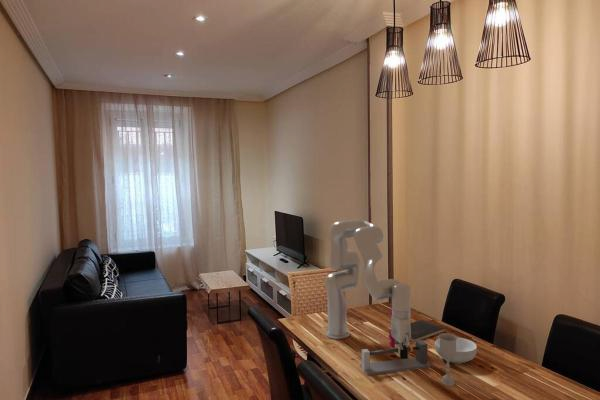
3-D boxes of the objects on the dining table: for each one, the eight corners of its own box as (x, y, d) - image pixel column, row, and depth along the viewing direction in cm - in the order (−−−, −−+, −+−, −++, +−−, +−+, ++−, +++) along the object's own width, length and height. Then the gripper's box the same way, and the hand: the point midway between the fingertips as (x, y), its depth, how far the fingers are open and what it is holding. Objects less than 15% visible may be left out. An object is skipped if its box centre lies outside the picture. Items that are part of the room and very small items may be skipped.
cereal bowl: (475, 353, 186) (475, 338, 186) (478, 370, 170) (478, 353, 170) (435, 349, 192) (435, 334, 191) (434, 365, 176) (434, 349, 176)
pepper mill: (405, 349, 193) (404, 306, 191) (389, 348, 194) (388, 305, 193) (404, 342, 200) (404, 301, 198) (389, 341, 201) (388, 301, 200)
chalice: (435, 378, 165) (435, 333, 164) (452, 377, 165) (452, 332, 164) (443, 387, 158) (443, 341, 156) (460, 386, 158) (460, 340, 157)
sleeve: (395, 353, 177) (394, 343, 177) (403, 352, 178) (403, 342, 178) (399, 357, 173) (399, 347, 173) (408, 355, 174) (408, 346, 174)
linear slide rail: (359, 366, 176) (359, 345, 176) (421, 359, 182) (421, 338, 181) (366, 375, 168) (366, 353, 168) (430, 367, 174) (430, 345, 174)
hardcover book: (445, 332, 213) (445, 328, 212) (413, 343, 200) (413, 338, 200) (420, 323, 226) (420, 319, 226) (389, 333, 213) (389, 328, 213)
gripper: (384, 307, 182) (385, 348, 183) (401, 320, 166) (401, 366, 167) (400, 306, 183) (401, 347, 185) (419, 319, 167) (419, 363, 168)
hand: (401, 355), depth 176 cm, fingers closed on sleeve, 4 cm apart
